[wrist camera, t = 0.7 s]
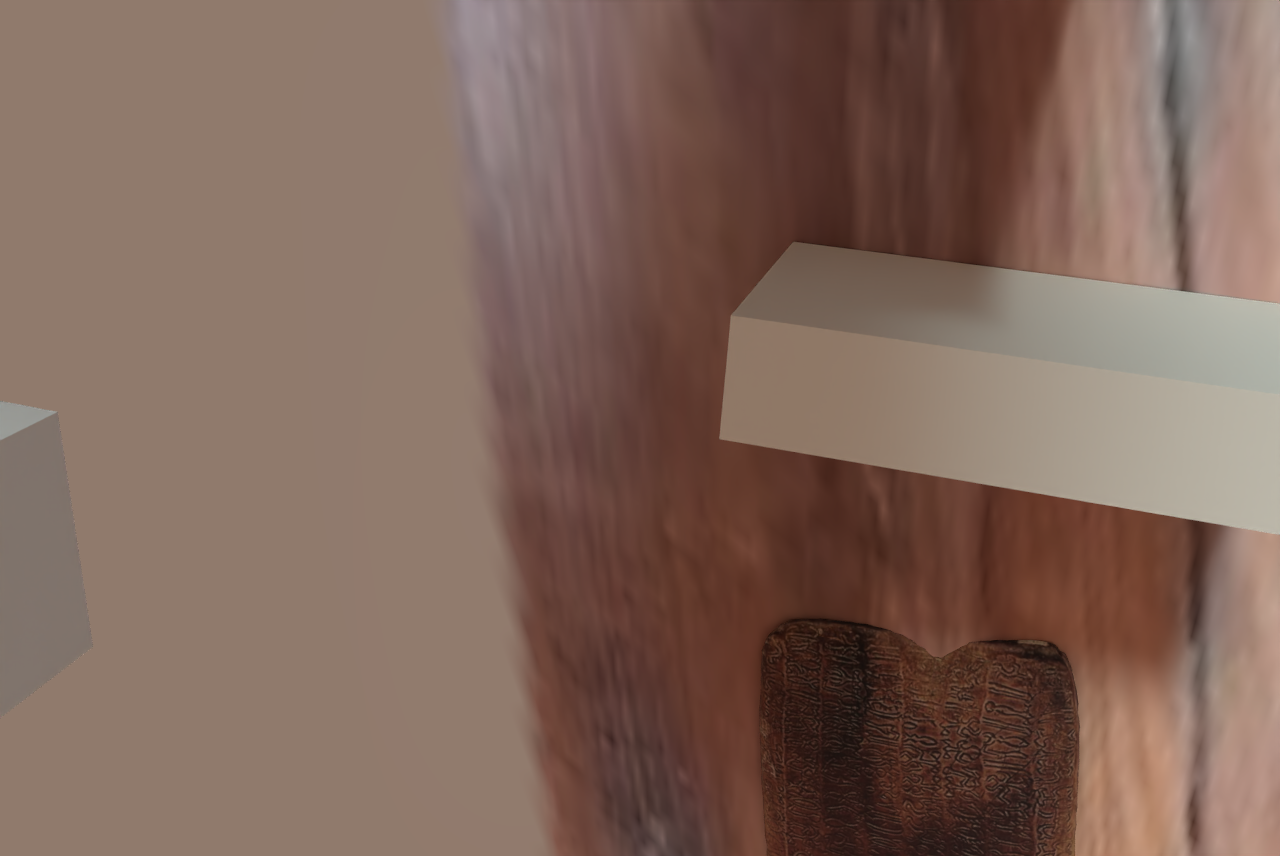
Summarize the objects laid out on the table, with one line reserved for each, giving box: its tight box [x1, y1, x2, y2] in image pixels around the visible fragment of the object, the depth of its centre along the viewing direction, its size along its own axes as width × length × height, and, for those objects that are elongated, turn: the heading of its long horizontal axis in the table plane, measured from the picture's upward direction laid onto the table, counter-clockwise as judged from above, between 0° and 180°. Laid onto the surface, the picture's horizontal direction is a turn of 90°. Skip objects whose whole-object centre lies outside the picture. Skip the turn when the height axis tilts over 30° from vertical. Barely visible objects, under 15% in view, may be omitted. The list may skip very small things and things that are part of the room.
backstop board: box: [719, 242, 1280, 535], centre depth 29 cm, size 3×13×8 cm, turn 86°
